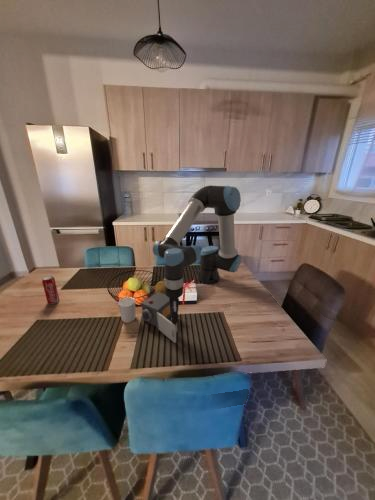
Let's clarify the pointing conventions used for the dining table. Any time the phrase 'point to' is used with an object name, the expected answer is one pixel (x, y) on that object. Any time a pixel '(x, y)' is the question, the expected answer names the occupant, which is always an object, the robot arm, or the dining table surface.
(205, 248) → the robot arm
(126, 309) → the white cup
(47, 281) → the beverage can
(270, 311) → the dining table surface
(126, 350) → the dining table surface
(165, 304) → the camera body
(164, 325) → the side door
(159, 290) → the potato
